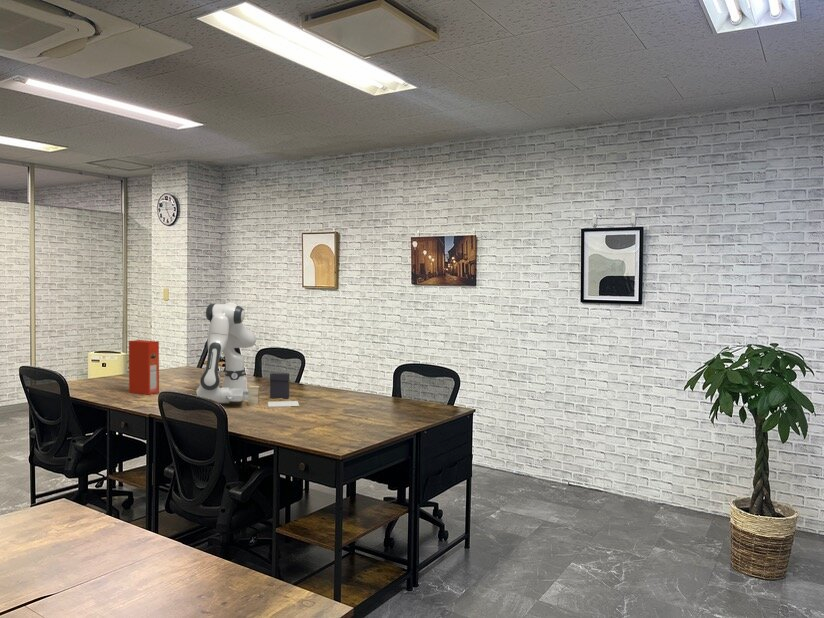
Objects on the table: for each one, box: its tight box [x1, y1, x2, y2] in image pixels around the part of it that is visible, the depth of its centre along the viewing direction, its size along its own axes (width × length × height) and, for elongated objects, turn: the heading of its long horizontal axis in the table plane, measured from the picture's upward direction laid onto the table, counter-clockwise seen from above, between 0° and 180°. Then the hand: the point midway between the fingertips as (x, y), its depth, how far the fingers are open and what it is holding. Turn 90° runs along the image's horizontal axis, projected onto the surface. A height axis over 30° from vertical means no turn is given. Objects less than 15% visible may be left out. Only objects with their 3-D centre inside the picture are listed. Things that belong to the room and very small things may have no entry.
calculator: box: [269, 372, 290, 400], centre depth 382 cm, size 11×4×15 cm, turn 84°
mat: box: [267, 400, 300, 408], centre depth 364 cm, size 14×17×1 cm
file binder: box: [128, 339, 160, 396], centre depth 391 cm, size 8×17×32 cm, turn 62°
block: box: [247, 385, 260, 406], centre depth 363 cm, size 5×6×10 cm
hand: (251, 394), depth 362 cm, fingers open, 8 cm apart
